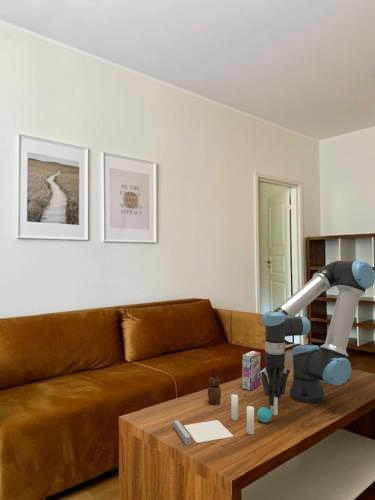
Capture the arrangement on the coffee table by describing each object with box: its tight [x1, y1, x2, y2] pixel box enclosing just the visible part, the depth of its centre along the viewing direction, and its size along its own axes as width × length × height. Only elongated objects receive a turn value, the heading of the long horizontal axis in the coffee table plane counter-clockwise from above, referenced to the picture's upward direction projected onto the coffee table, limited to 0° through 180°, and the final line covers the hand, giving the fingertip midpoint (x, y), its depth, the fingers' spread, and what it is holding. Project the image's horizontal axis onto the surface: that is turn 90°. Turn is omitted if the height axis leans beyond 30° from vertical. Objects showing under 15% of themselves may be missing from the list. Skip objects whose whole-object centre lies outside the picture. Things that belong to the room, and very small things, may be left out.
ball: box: [256, 406, 273, 423], centre depth 144 cm, size 6×6×6 cm
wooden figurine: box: [207, 366, 222, 405], centre depth 163 cm, size 7×6×15 cm
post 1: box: [230, 393, 239, 421], centre depth 146 cm, size 3×3×9 cm
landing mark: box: [183, 419, 235, 444], centre depth 136 cm, size 14×14×1 cm
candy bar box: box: [241, 350, 261, 392], centre depth 183 cm, size 11×5×16 cm, turn 145°
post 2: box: [246, 405, 255, 435], centre depth 135 cm, size 3×3×9 cm
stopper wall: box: [173, 419, 192, 446], centre depth 133 cm, size 2×14×2 cm, turn 19°
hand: (274, 413), depth 145 cm, fingers closed
